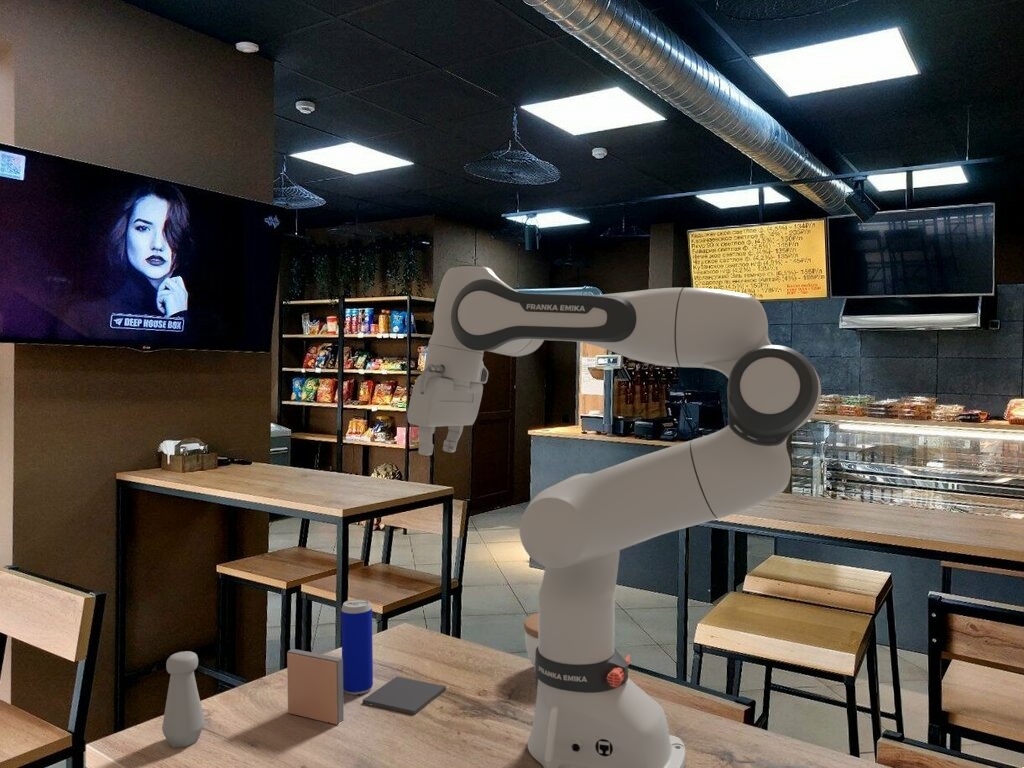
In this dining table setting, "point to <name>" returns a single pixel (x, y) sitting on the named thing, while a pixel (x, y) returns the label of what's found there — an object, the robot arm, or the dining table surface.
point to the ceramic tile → (315, 686)
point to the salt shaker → (182, 701)
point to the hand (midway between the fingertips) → (437, 453)
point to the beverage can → (357, 646)
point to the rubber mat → (405, 695)
